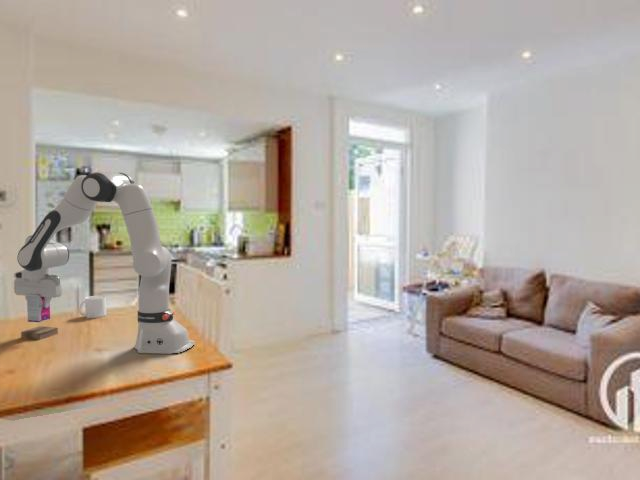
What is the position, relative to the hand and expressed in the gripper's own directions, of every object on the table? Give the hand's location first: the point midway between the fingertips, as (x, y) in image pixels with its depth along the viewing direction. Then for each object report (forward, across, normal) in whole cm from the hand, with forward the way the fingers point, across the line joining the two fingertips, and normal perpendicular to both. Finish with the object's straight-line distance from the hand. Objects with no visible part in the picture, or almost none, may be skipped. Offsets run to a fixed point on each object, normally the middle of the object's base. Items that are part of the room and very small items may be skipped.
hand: (38, 306), depth 178 cm
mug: (+12, +2, -33) cm, 35 cm away
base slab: (+12, 0, 0) cm, 12 cm away
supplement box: (+6, 0, 0) cm, 6 cm away
